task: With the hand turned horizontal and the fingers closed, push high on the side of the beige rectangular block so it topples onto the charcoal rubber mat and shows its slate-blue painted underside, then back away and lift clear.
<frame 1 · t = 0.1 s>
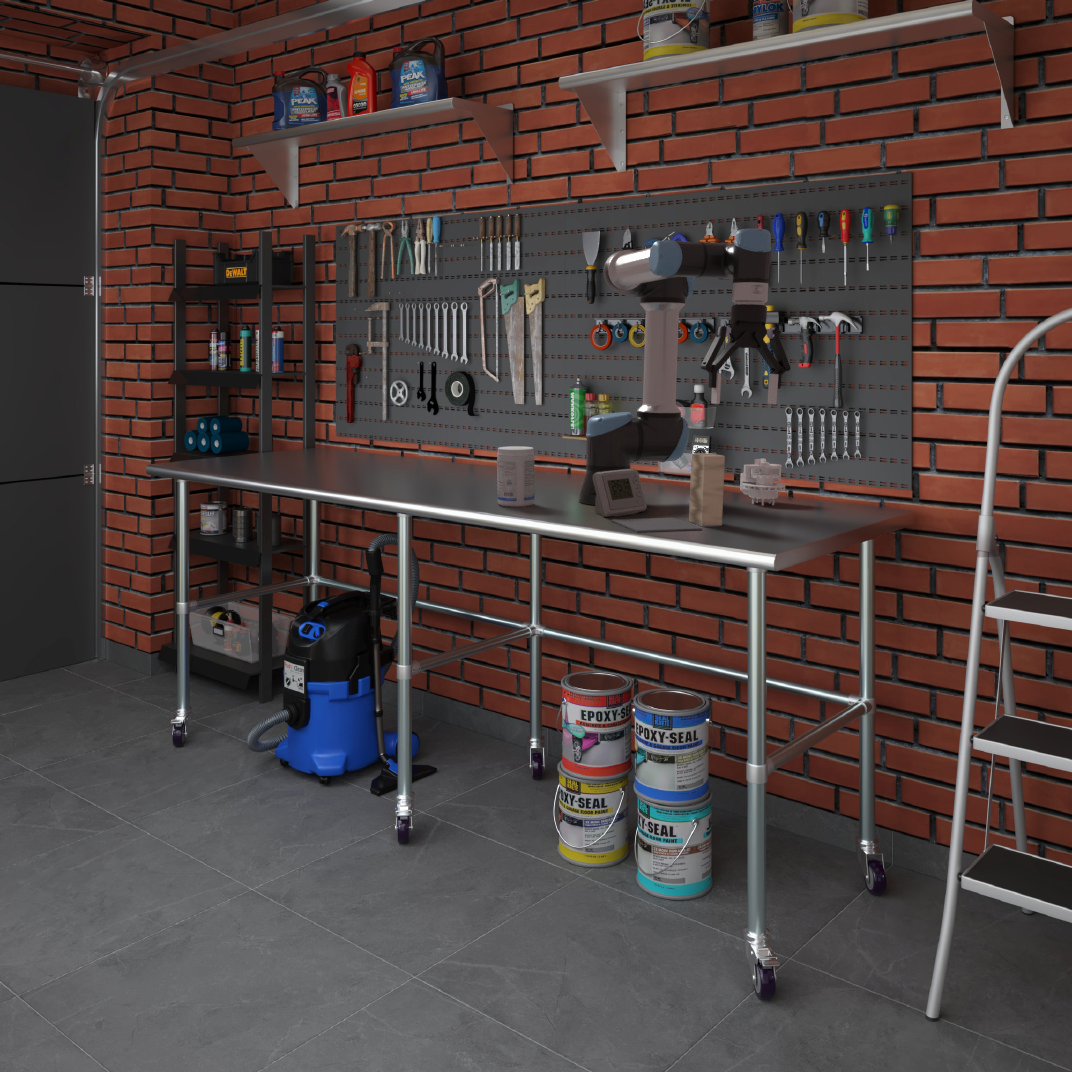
hand: (743, 404, 226), 28 cm above the table, tool pointing down, fingers open, 13 cm apart
charcoal rubber mat: (655, 525, 236), on the table
digital clock: (619, 514, 254), on the table
supplement tub: (515, 505, 267), on the table
beige rectangular block: (705, 524, 239), on the table
mechanical part: (762, 504, 275), on the table
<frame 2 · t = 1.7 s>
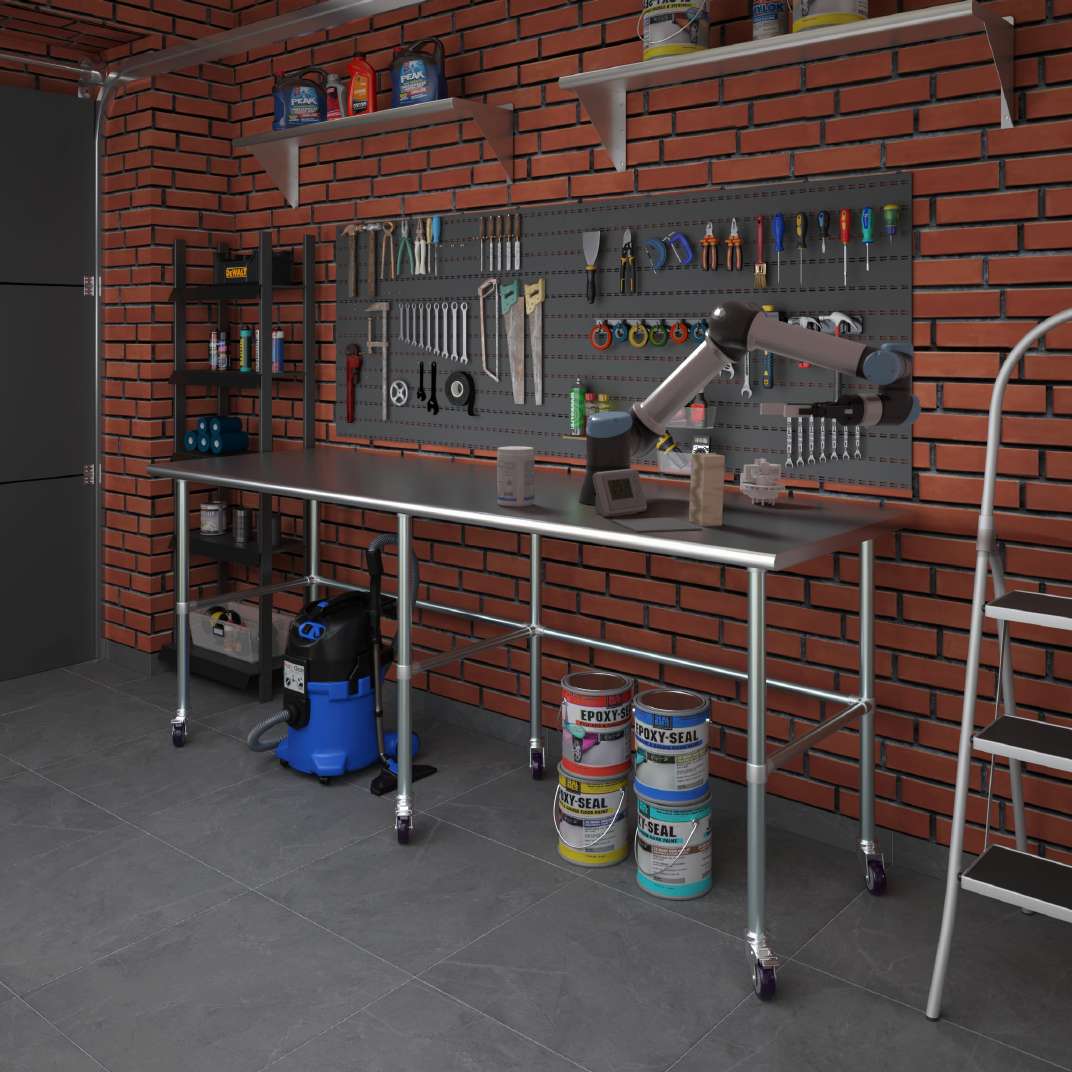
hand: (772, 410, 239), 26 cm above the table, tool horizontal, fingers open, 10 cm apart
nothing on the table moved.
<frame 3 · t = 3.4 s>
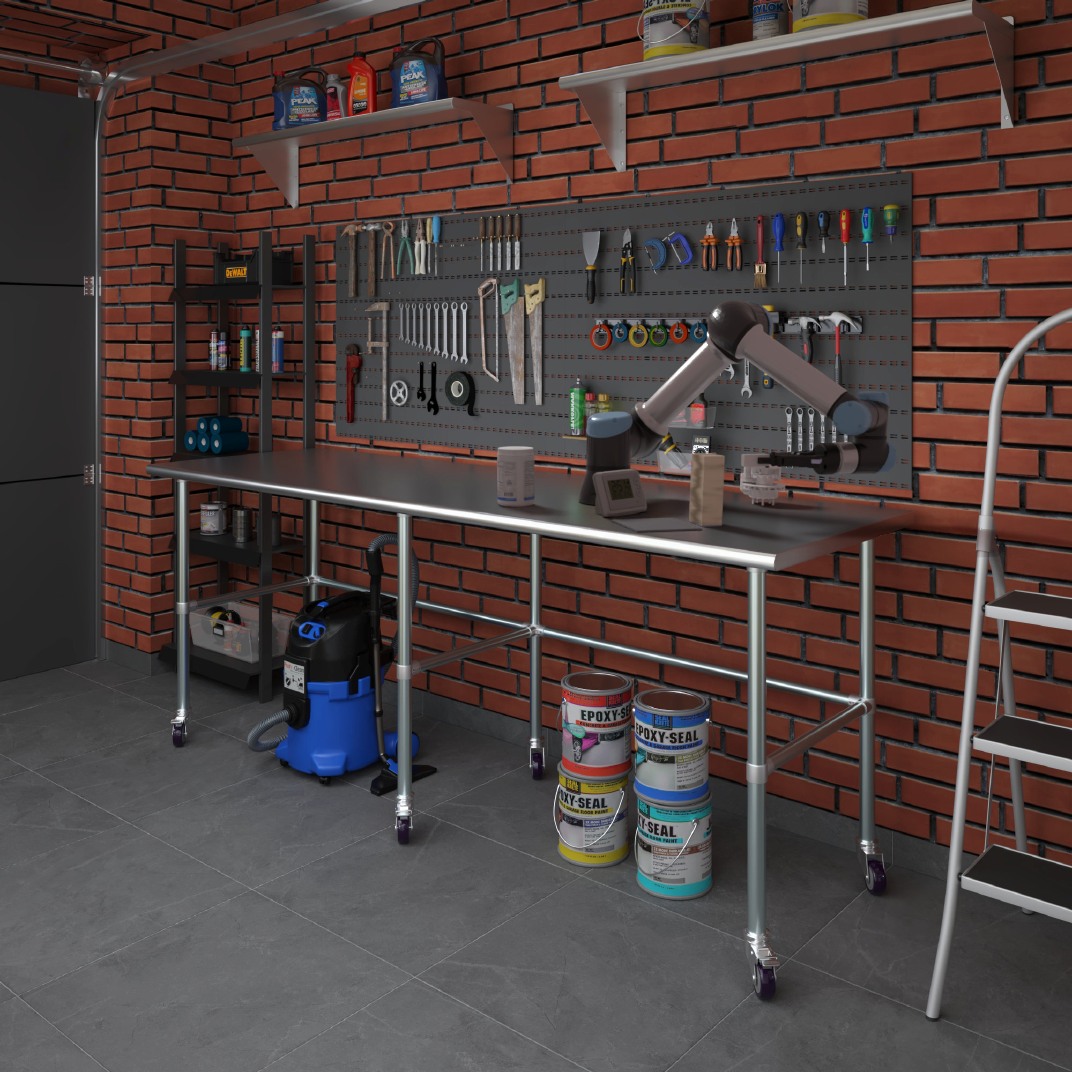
hand: (742, 460, 239), 15 cm above the table, tool horizontal, fingers closed
nothing on the table moved.
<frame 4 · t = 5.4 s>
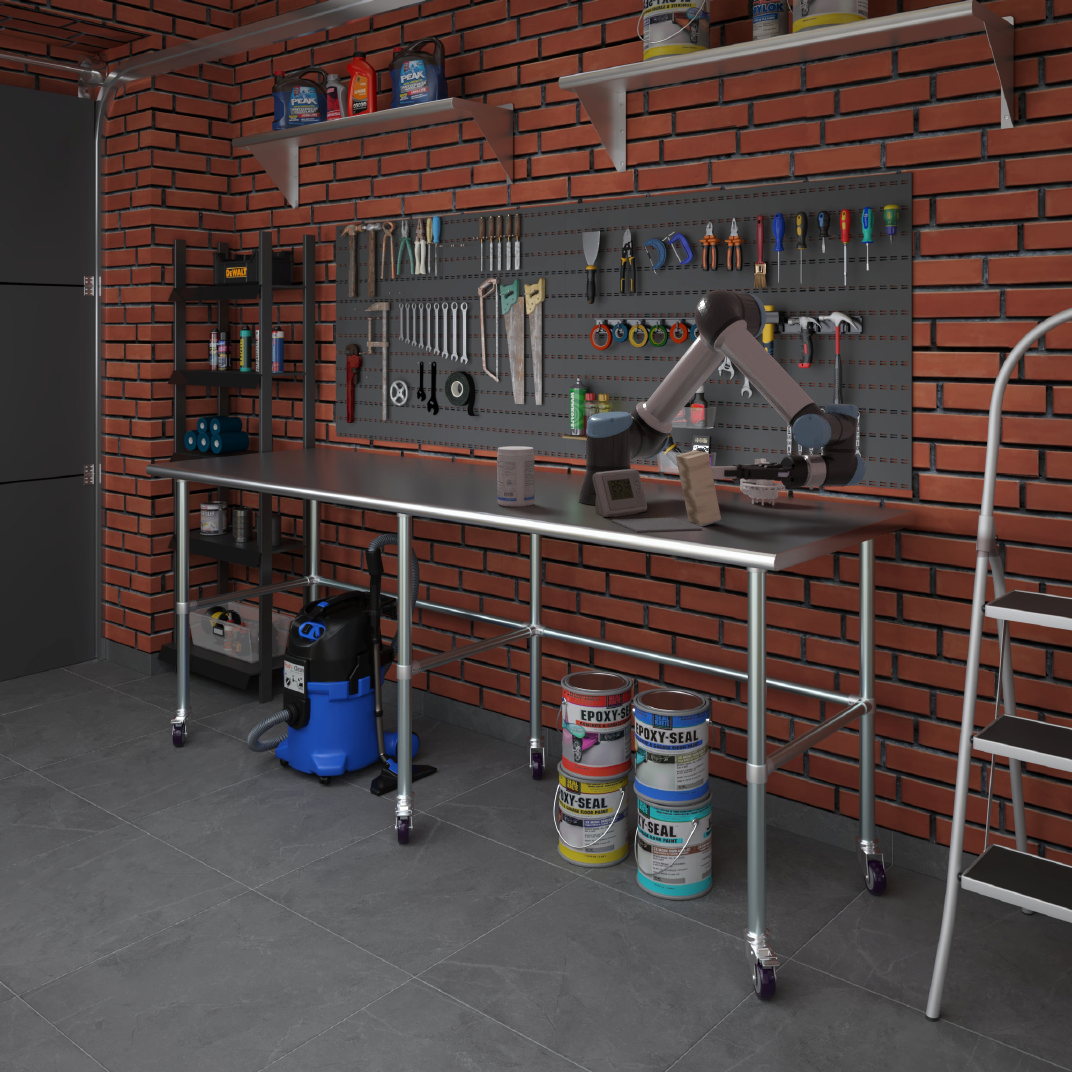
hand: (709, 472, 237), 12 cm above the table, tool horizontal, fingers closed
beige rectangular block: (705, 521, 239), point 1 cm above the table, tilted 14°
everything else where it was.
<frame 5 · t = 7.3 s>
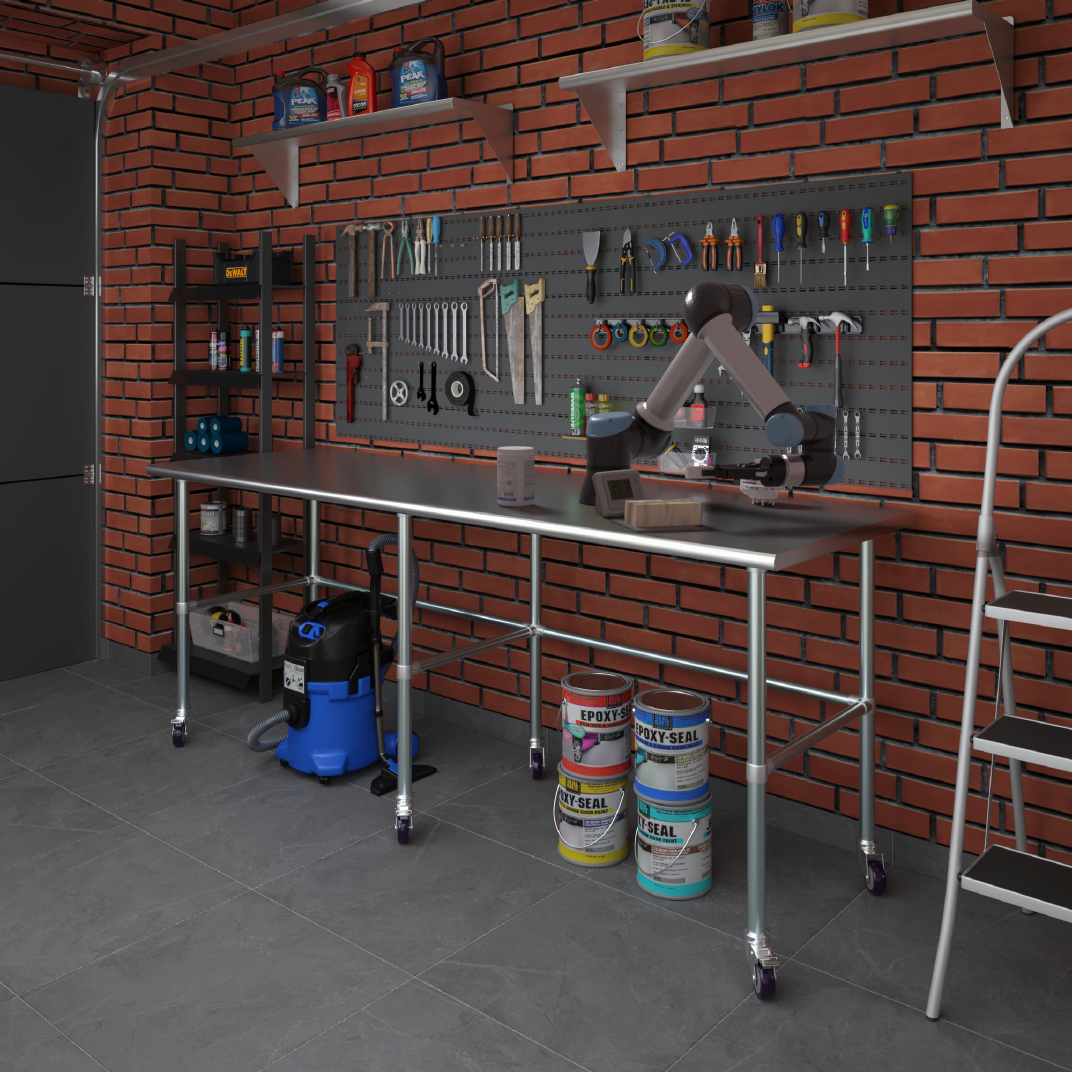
hand: (686, 472, 236), 12 cm above the table, tool horizontal, fingers closed
beige rectangular block: (695, 511, 238), point 3 cm above the table, tilted 90°, touching charcoal rubber mat
everything else where it was.
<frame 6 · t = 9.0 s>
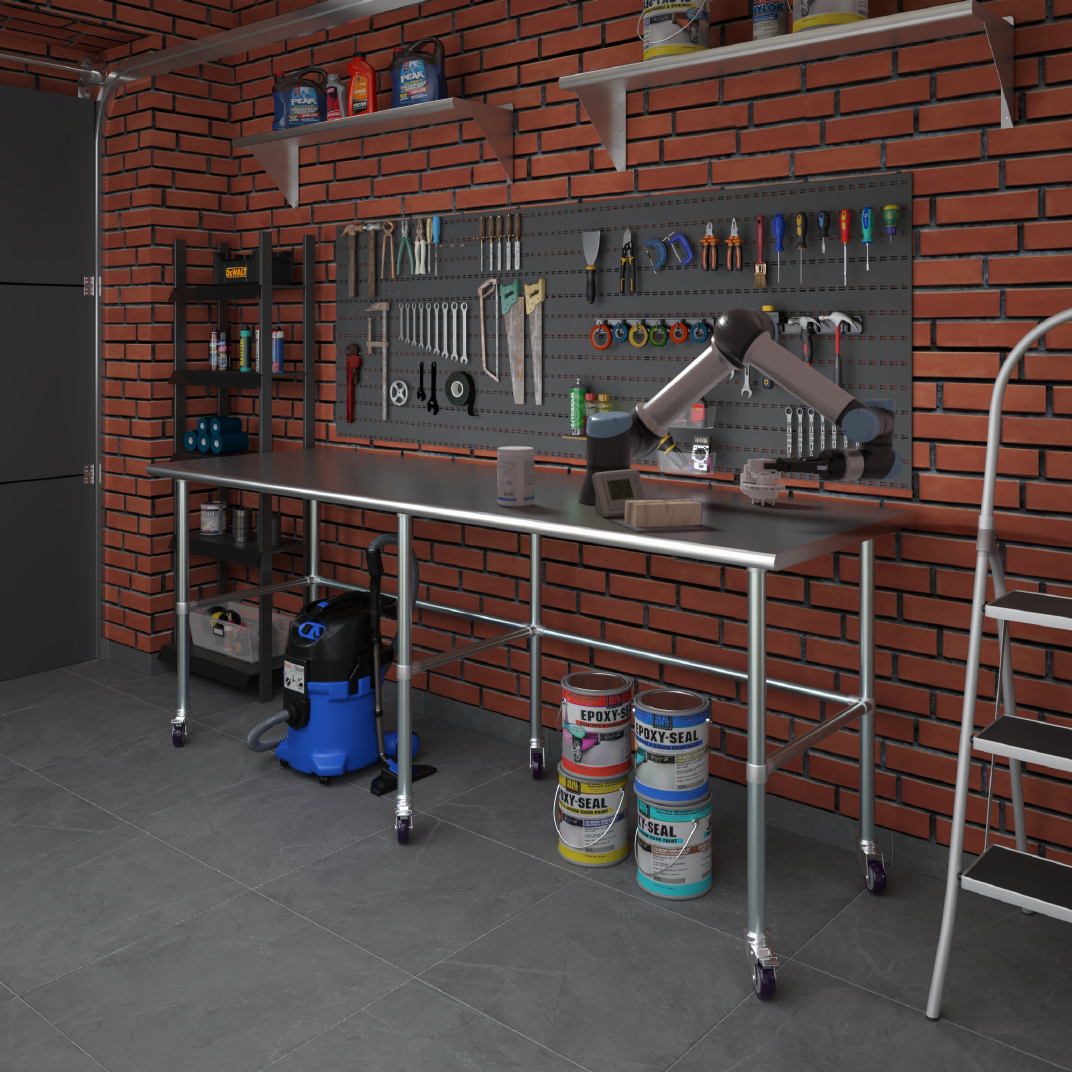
hand: (749, 465, 240), 13 cm above the table, tool horizontal, fingers closed
nothing on the table moved.
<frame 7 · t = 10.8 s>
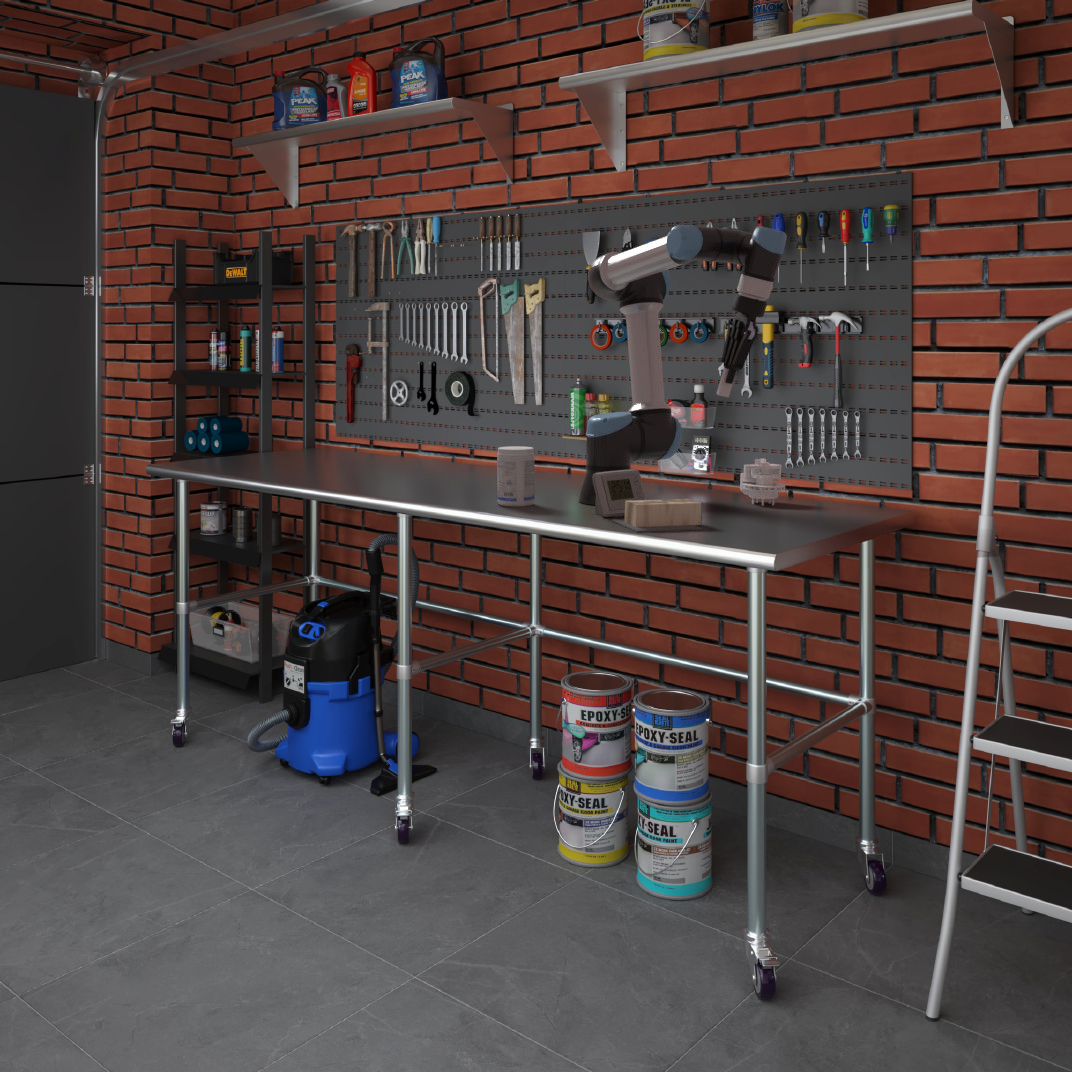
hand: (722, 395, 246), 29 cm above the table, tool tilted 15°, fingers closed
nothing on the table moved.
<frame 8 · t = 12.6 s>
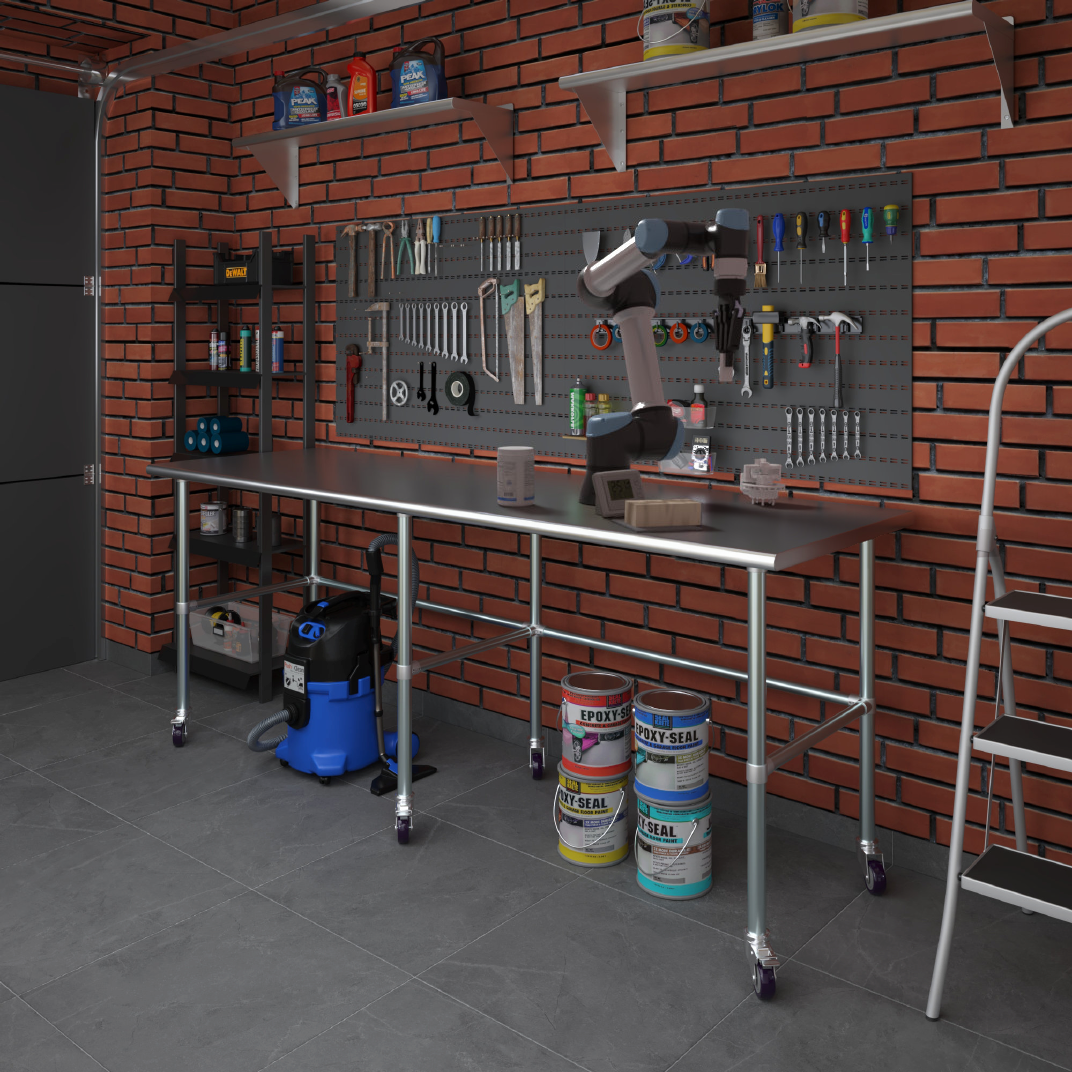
hand: (725, 381, 245), 32 cm above the table, tool pointing down, fingers closed
nothing on the table moved.
at the end: beige rectangular block tilted 90°; beige rectangular block touching charcoal rubber mat; beige rectangular block inside the target area (1.5 cm from its centre), point 2.9 cm above the table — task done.
